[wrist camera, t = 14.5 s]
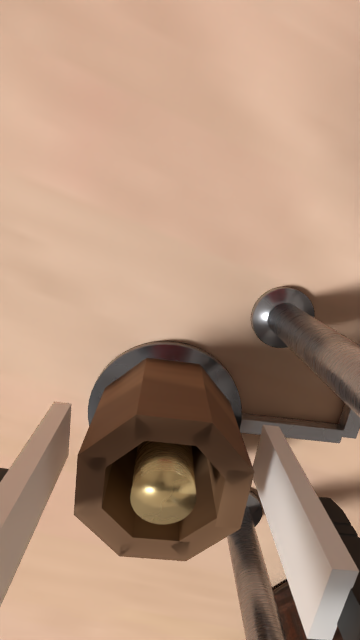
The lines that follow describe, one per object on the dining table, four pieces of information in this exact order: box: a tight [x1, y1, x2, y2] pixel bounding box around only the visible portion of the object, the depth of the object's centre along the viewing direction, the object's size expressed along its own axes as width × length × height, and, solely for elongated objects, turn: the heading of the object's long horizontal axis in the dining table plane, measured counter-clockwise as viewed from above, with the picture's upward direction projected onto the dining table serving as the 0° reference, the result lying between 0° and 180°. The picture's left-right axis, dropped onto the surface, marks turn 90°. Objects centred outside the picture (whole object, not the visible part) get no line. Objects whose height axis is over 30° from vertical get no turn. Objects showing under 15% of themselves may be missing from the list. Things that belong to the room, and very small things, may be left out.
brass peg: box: [88, 341, 241, 524], centre depth 14 cm, size 8×8×6 cm
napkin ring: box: [74, 358, 254, 561], centre depth 14 cm, size 6×6×5 cm
